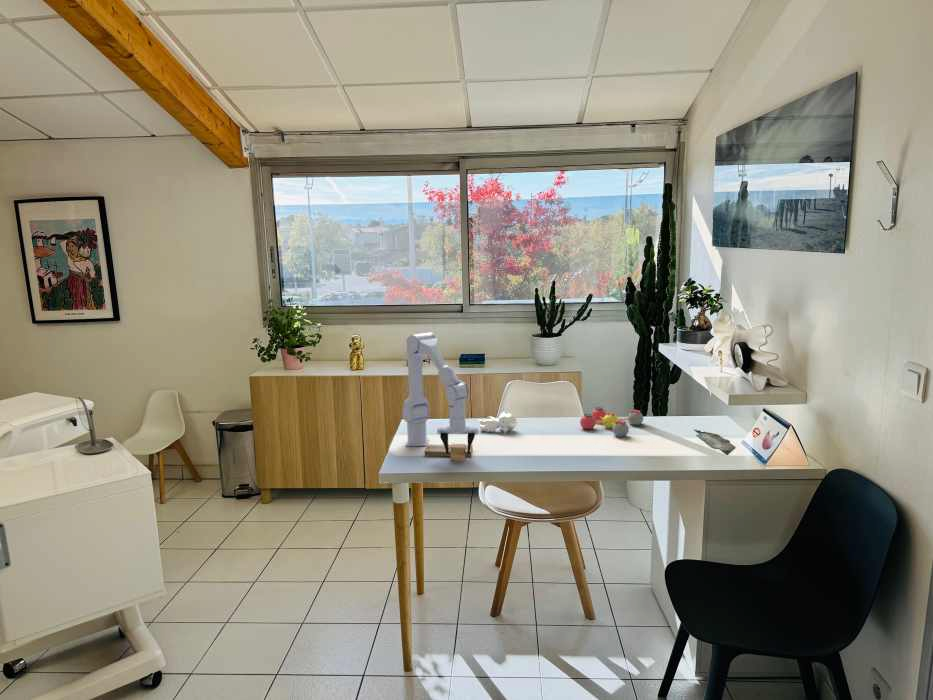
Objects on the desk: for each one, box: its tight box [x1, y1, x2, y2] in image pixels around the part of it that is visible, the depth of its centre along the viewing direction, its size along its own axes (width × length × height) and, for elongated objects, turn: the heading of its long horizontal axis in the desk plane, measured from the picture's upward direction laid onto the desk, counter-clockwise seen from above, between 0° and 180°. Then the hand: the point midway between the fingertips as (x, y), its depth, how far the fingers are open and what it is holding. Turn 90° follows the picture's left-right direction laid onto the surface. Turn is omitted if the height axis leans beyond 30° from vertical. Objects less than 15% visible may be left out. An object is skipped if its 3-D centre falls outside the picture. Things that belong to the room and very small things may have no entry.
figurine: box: [479, 411, 518, 435], centre depth 267 cm, size 11×7×15 cm
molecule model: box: [579, 406, 644, 438], centre depth 269 cm, size 25×21×6 cm
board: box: [424, 444, 473, 457], centre depth 241 cm, size 8×17×2 cm, turn 86°
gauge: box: [450, 443, 467, 462], centre depth 235 cm, size 7×5×5 cm
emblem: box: [693, 428, 736, 456], centre depth 249 cm, size 32×10×1 cm, turn 2°
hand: (458, 453), depth 234 cm, fingers open, 7 cm apart
